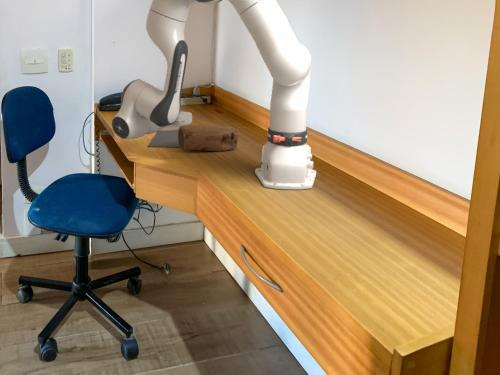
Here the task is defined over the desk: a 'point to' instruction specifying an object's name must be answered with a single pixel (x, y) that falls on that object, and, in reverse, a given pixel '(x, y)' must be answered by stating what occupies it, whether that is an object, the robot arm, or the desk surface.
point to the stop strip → (171, 128)
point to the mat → (165, 140)
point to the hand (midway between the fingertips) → (176, 112)
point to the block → (207, 137)
